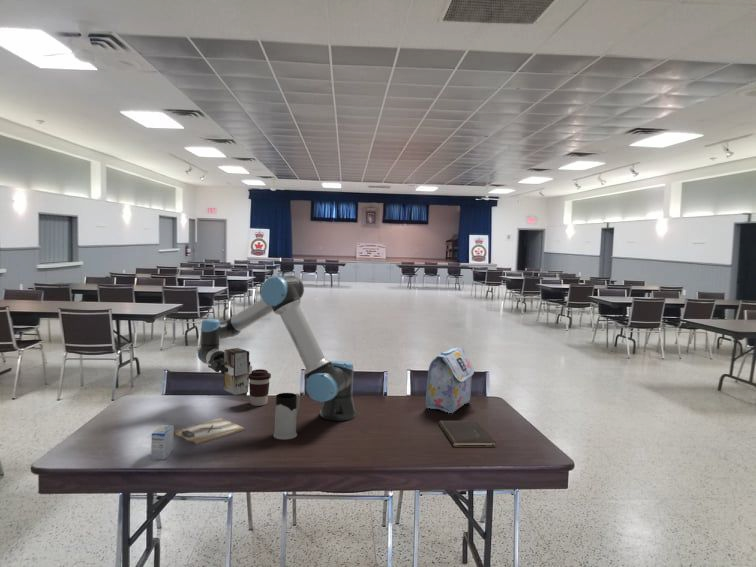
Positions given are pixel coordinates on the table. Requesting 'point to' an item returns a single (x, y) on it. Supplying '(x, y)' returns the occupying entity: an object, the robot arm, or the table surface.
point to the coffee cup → (259, 387)
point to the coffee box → (237, 371)
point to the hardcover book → (466, 433)
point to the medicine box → (162, 442)
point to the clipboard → (208, 430)
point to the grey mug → (286, 415)
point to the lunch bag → (449, 381)
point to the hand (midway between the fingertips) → (242, 370)
